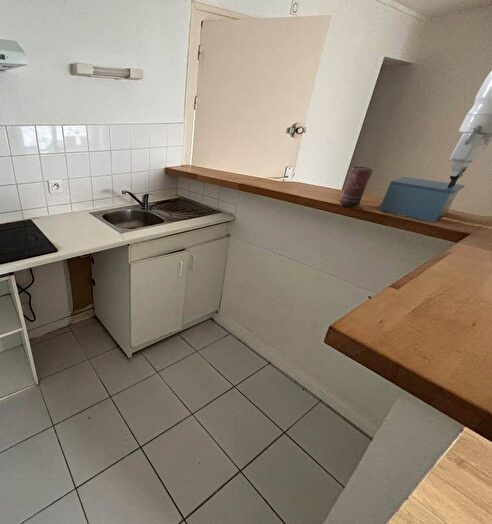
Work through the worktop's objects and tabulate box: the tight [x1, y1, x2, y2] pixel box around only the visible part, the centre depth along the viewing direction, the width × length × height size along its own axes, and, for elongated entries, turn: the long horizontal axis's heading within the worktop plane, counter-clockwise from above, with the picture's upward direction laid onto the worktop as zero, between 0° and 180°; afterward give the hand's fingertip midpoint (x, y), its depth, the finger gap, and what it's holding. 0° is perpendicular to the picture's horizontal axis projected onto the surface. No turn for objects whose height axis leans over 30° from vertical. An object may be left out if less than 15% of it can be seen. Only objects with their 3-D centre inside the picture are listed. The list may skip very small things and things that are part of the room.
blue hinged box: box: [378, 183, 459, 223], centre depth 99 cm, size 16×13×10 cm
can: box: [339, 166, 373, 208], centre depth 106 cm, size 6×6×14 cm
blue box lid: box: [389, 172, 465, 194], centre depth 95 cm, size 16×13×5 cm
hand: (456, 174), depth 90 cm, fingers open, 8 cm apart
